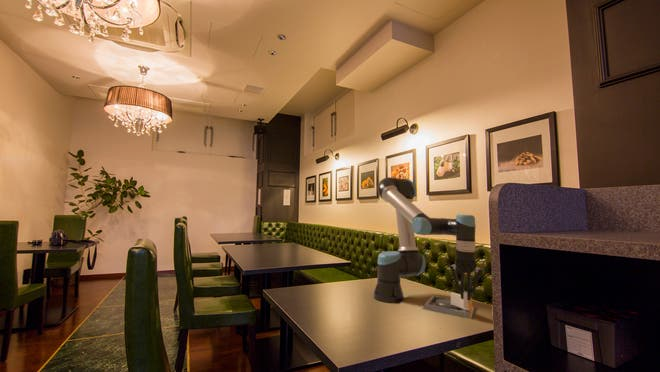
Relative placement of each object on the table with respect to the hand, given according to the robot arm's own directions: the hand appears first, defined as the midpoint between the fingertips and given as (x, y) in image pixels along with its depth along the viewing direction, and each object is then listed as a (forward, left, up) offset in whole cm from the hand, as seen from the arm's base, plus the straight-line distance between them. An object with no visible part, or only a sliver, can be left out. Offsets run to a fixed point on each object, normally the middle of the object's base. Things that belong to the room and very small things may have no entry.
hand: (465, 307), depth 121 cm
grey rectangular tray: (-8, +8, -5) cm, 12 cm away
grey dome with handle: (-5, +6, -4) cm, 9 cm away
